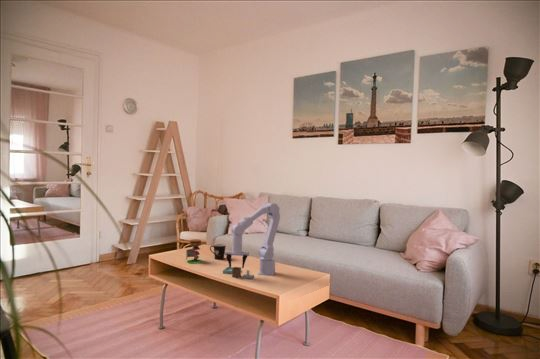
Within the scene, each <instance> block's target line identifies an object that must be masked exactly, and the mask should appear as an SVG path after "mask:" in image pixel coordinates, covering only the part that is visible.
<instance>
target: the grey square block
mask: <svg viewBox="0 0 540 359" xmlns="http://www.w3.org/2000/svg"><path fill="white" fill-rule="evenodd" d="M254 277H255V275H254V274H250V269H249V270H248V269H247V270H246V273H244V274H243V275H241V279H244V280H245V279H246V280H253V278H254Z"/></svg>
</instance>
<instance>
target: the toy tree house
mask: <svg viewBox="0 0 540 359" xmlns="http://www.w3.org/2000/svg"><path fill="white" fill-rule="evenodd" d="M201 245H202V240H201V239H190V240H189V246H190V247H191V248H189V249H186V250H185V260H186V262H187V263H188V264H190V265H191V264H194V265H196V264H197V263H198V264H201V263H203V262H204V260H203V259H198V258H200V256H199V255H200V252H199V250H201V248H200V247H201ZM188 258H192V259H189V260H188ZM198 264H197V265H198Z"/></svg>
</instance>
